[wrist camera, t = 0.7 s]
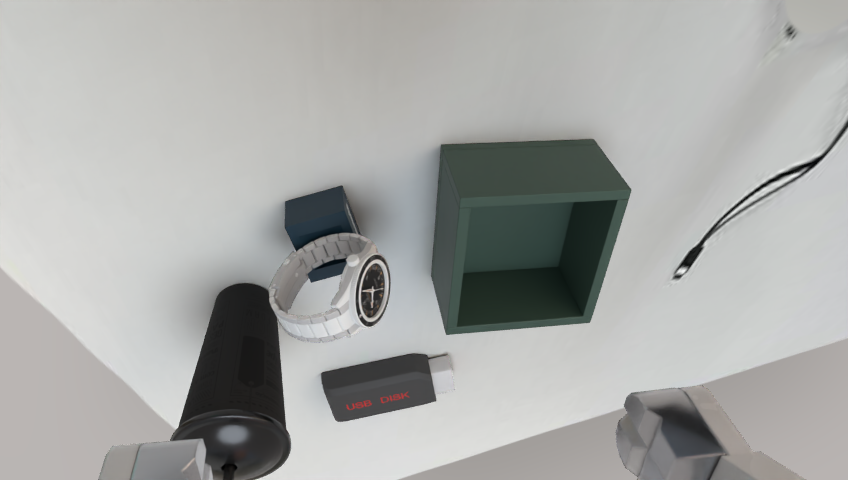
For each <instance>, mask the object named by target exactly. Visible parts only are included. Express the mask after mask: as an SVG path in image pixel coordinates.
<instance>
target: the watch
mask: <svg viewBox="0 0 848 480" xmlns="http://www.w3.org/2000/svg"><path fill="white" fill-rule="evenodd" d="M285 229H286V231H287V233H288V235H289V237H290V239H291V241H292V243H293V246H294V248H295V250H296V252H295V253H294V252H292V253H291V254H290V255H289V256H288V258H287V259H286V260H285V261H284V263H283V264H282V265H281V267H280V268H279V270H278V271H277V273H276V274H275V276H274V278H273V280H272V282H271V284H270V287H269V289H268V291H269V297H270V298H269V301H270V304H271V307H272V309H273V311H274V312H275V314H276V316H277V318H278V320H279V321H280V323H281V325H282V327H283V328H284V330H285V331H286V332H287V333H288V334H289V335H291V336H292V337H294V338H297V339H298V340H301V341H305V342H312V343H320V342H321V341H322V342H329V341H333V340H335V339H340V338H343V337H351V336H353V335H355V334H357V333H358V332H360V331H361V330H363V329H364V328H372V327H374V326H375V325H376V324H377V323H378V322H379V321H380V320H381V318H382V316H383V314H384V312H385V310H386V307H387V304H388V300H389V294H390V271H389V267H388V264H387V262H386V259H385V258H384V257H383V256H382V255H381V254H379V253H378V251H377V248H376V245H375V244H374V243H373V242H372V241H370V240H369V239H368V238H366V237H364V236H361V234H360V232H359V229H358V226H357V224H356V221H355V218H354V216H353V213H352V210H351V208H350V205H349V202H348V200H347V197H346V194H345V192H344V189H343V186H340V187H336V188H332V189H329V190H325V191H322V192H318V193H314V194H311V195H307V196H303V197H300V198H296V199H293V200H289V201H285ZM340 274H342V276H341V282H340V285H339V291H338V292H337V294H336V295H335V297H334V299H333V300H332V302H331V307H332V308H334V309H331V310H329V311H326V312H325V313H324V314H323V313H320V314H316V315H312V316H311V317H310V316H299V317H298V316H297V315H291V314H287V312H288V309H290V308H291V306H292V303H293V301H294V299H295V297H296V295H297V293H298V292H299V290H300V289H301V287H302V286H303V284H304V283H305V282H306V280H307V279H308V277H309V279H310V281H311V282H315V281H319V280H322V279H326V278H330V277H333V276H337V275H340ZM334 336H335V337H334Z"/></svg>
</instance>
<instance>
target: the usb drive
mask: <svg viewBox="0 0 848 480" xmlns="http://www.w3.org/2000/svg"><path fill="white" fill-rule="evenodd" d="M321 376H322V385H323V389H324V393H325V395H326V398H327V400H328V403H329V405H330V408H331V410H332V413H333V416H334V418H335V420H336V421H338V422H343V421H349V420H354V419H358V418H363V417H368V416H372V415H377V414H382V413H386V412H391V411H396V410H400V409H405V408H410V407H414V406H419V405H424V404H427V403H431V402H434V401H436V396H435V395H436V394H441V393H446V392H450V391H455V385H454V378H453V372H452V367H451V363H450V359H449V355H447V356H442V357H437V358H433V359H428V357H427V355H421V354H409V355H404V356H400V357H395V358H390V359H386V360H381V361H376V362H371V363H367V364H362V365H357V366H352V367H348V368H343V369H338V370H333V371H329V372H324V373H322V375H321Z"/></svg>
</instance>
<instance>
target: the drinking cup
mask: <svg viewBox="0 0 848 480" xmlns="http://www.w3.org/2000/svg"><path fill="white" fill-rule="evenodd" d="M269 298H270V297H269V291H267V290H266V289H264V288H262V287H260V286H257V285H253V284H237V285H233V286H230V287H228V288H226V289H224V290H223V291H222V292H221V293H220V294H219V295H218V297H217V299H216V301H215V305H214V308H213V312H212V315H211V318H210V322H209V325H208V328H207V332H206V335H205V339H204V342H203V345H202V349H201V352H200V356H199V359H198V362H197V366H196V369H195V373H194V376H193V379H192V383H191V386H190V389H189V393H188V396H187V400H186V403H185V406H184V410H183V413H182V417H181V420H180V423H179V427H178V428H177V429H176V431H175V432H174V433H173V435H172V437H171V439H170V441H178V440H191V439H203V441H204V444H205V447H206V457H205V463H207V464H208V465H210V466H211V470H212V474H213V480H255V479H258V478H261V477H264V476H266V475H268V474H270V473H272V472H274V471H275V470H277V469H278V468H279V467H281V466H282V465H283V464H284V462H285V461H286V460H287V458H288V456H289V454H290V451H291V439H290V435H289V433H288V431H287V430H286V422H285V410H284V397H283V385H282V373H281V360H280V348H279V336H278V323H277V316H276V314H275V312H274V311H273V309H272V307H271V304H270V301H269Z"/></svg>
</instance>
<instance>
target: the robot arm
mask: <svg viewBox="0 0 848 480" xmlns="http://www.w3.org/2000/svg"><path fill="white" fill-rule="evenodd" d="M624 407H625V409H626V411H627V414H626V415H625V416H624V417H623V418H621V420H619V422H618V426H617V430H616V442H617V448H618V451H619V455H620V457H621V459H622V462H623V464H624V466H625V468H626V469H628V470H629V471H630V472H632V473H633V474H634V475H636V476H637V477H638V479H637V480H805V479H804V478H802V477H801V476H799V475H797V474H796V473H794V472H793V471H791V470H789V469H788V468H786V467H785V466H783V465H781V464H780V463H778V462H777V461H775V460H773V459H772V458H770V457H769V456H767V455H765V454H764V453H762V452H753V451H752V449H751V448H750V446H749V445H748V444H747V442H746V441H745V439H744V438H743V437H742V435H741V434H740V432H739V431H738V430H737V428H736V427H735V425H734V424H733V423H732V422H731V420H730V419H729V417H728V416H727V414H726V413H725V412H724V411H723V409H722V407H721V406H720V405H719V403H718V402H717V400H716V399H715V398H714V396H713V395H712V394H711V392H710V391H709V390H708V389H707V388H705V387H704V386H692V387H682V388H668V389H660V390H651V391H643V392H635V393H631V394H630V395H628V396H627V398H626V401H625V404H624ZM205 457H206V447H205V444H204V441H203V439H191V440H178V441H166V442H153V443H141V444H130V445H119V446H112V447H111V448H110V450H109V452H108V453H107V454H106V457H105V460H104V463H103V466H102V469H101V472H100V476H99V479H98V480H213V474H212V470H211V466H210V465H208V464H207V463H205Z"/></svg>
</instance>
